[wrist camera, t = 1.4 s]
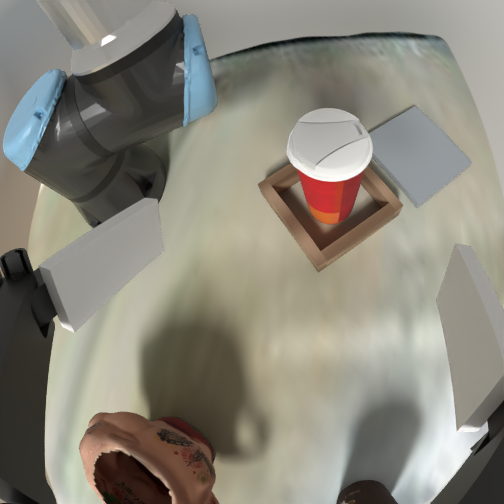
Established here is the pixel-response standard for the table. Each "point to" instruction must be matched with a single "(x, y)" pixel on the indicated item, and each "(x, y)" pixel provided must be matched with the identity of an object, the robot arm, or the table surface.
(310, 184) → the paper cup
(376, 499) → the coffee mug
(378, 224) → the walnut collar
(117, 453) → the decorative planter
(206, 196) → the table surface
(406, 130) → the slate pad
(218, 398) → the table surface
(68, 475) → the table surface
